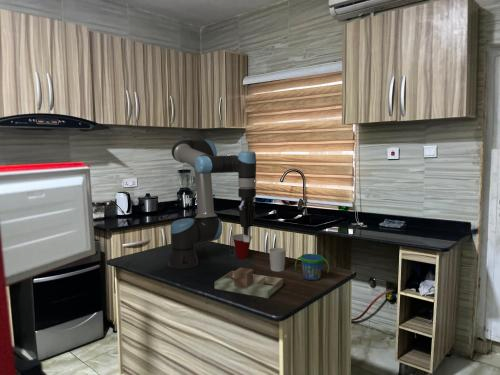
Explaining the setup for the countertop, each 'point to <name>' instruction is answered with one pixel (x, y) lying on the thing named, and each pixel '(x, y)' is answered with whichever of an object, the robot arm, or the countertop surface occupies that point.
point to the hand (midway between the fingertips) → (247, 241)
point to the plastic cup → (241, 246)
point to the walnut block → (243, 277)
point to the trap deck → (253, 289)
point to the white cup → (277, 259)
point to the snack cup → (311, 265)
